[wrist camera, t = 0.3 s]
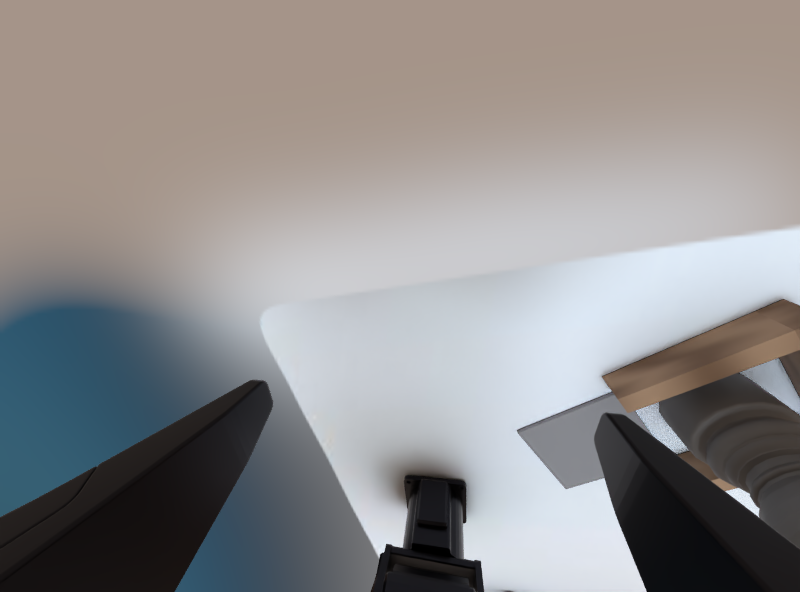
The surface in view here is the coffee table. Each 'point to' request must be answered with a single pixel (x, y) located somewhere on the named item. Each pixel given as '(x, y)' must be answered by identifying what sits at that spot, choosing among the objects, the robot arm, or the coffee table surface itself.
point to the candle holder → (744, 444)
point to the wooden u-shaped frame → (713, 363)
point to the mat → (573, 440)
